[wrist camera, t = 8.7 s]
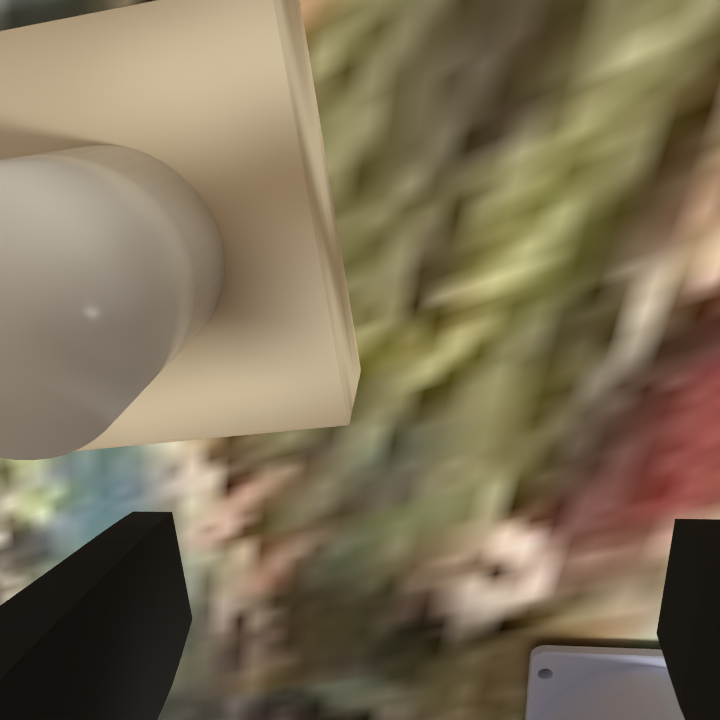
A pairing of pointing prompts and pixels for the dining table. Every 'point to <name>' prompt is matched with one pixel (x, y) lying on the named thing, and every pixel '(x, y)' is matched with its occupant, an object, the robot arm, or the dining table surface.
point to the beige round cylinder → (94, 289)
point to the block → (210, 196)
